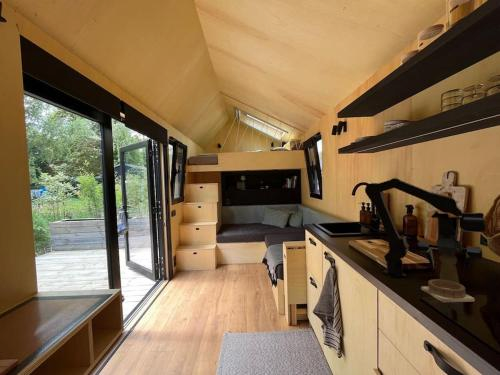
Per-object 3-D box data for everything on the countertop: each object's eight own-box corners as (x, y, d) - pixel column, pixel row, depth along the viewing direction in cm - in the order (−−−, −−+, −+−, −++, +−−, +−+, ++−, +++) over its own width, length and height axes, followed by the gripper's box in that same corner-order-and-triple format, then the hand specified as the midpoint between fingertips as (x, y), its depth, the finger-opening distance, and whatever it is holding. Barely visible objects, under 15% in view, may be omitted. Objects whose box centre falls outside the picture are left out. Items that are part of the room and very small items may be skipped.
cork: (434, 281, 96) (433, 252, 96) (449, 280, 96) (448, 251, 96) (448, 287, 90) (447, 257, 90) (464, 286, 90) (463, 256, 90)
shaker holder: (421, 289, 89) (421, 279, 89) (449, 288, 89) (449, 278, 89) (442, 302, 79) (442, 291, 79) (474, 301, 79) (474, 290, 79)
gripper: (413, 231, 93) (414, 272, 93) (481, 236, 81) (483, 285, 81) (418, 226, 101) (419, 265, 102) (481, 231, 89) (482, 274, 89)
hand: (448, 271), depth 93 cm, fingers open, 9 cm apart
